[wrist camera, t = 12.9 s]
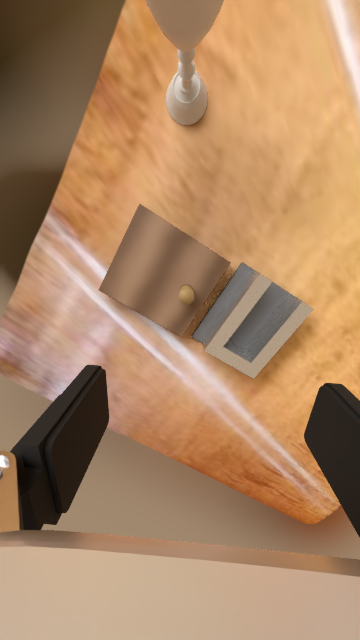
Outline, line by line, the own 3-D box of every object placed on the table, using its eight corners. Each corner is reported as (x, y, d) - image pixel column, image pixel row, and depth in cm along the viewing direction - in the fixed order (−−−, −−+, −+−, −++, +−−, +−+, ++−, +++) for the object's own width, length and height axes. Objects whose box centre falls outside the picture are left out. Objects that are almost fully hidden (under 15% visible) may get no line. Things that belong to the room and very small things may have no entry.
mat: (304, 303, 34) (306, 304, 33) (249, 368, 38) (250, 370, 37) (241, 262, 32) (242, 262, 31) (191, 335, 36) (191, 336, 36)
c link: (250, 269, 32) (259, 273, 28) (297, 300, 33) (313, 309, 29) (202, 338, 36) (204, 350, 32) (246, 363, 37) (253, 378, 33)
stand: (226, 261, 32) (235, 265, 26) (181, 329, 36) (180, 347, 30) (144, 207, 30) (132, 198, 24) (106, 286, 34) (88, 295, 28)
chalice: (219, 127, 27) (272, -73, 10) (166, 143, 28) (131, -19, 11) (209, 49, 24) (255, -389, 7) (151, 69, 25) (75, -291, 8)
